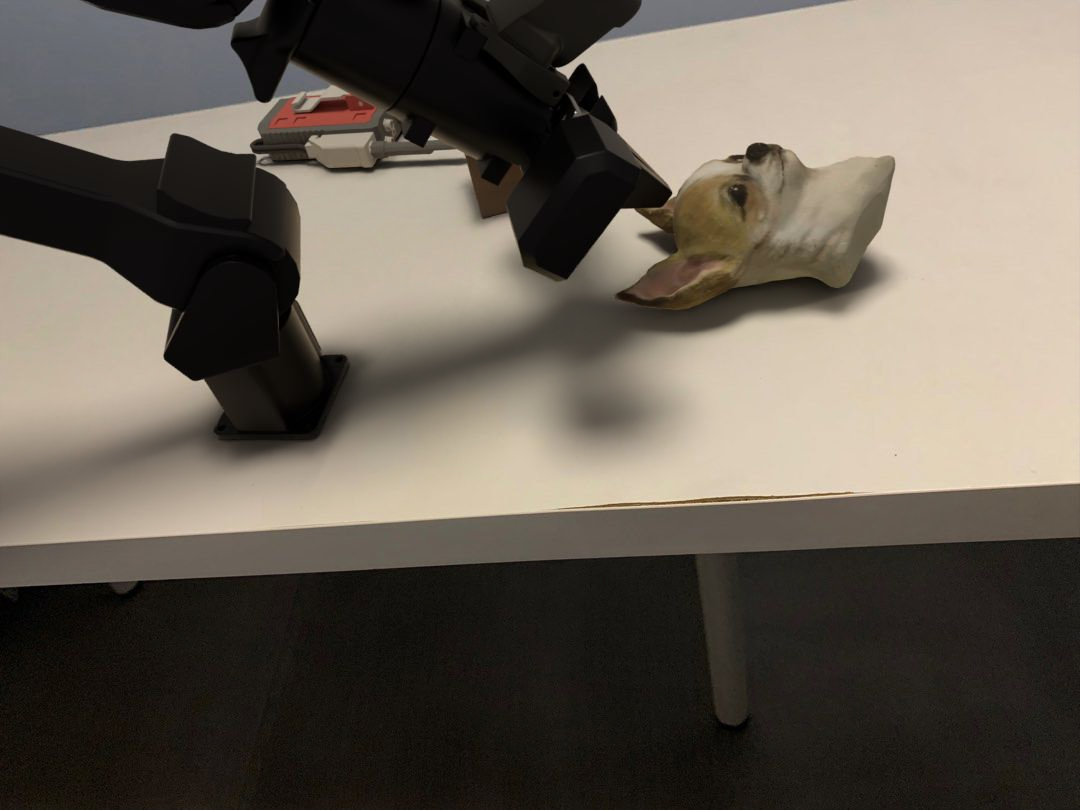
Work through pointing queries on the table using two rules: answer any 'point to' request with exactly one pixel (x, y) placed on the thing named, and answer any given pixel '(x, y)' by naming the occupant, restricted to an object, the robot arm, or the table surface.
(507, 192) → the walnut block
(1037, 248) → the table surface
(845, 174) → the ceramic sculpture
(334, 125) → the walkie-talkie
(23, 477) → the table surface
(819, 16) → the table surface
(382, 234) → the table surface
